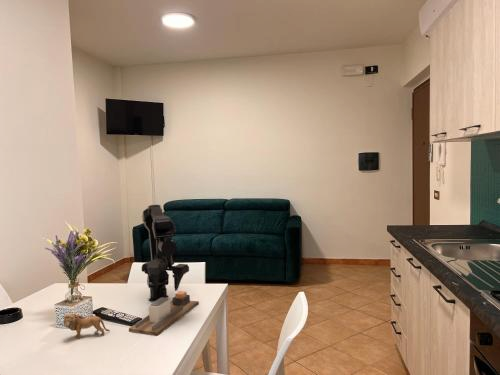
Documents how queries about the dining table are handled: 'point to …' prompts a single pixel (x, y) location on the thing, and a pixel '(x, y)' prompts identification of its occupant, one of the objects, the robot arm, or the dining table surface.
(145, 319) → the rail mount
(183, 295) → the button
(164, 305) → the block
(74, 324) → the lion figurine
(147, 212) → the robot arm
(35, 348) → the dining table surface
